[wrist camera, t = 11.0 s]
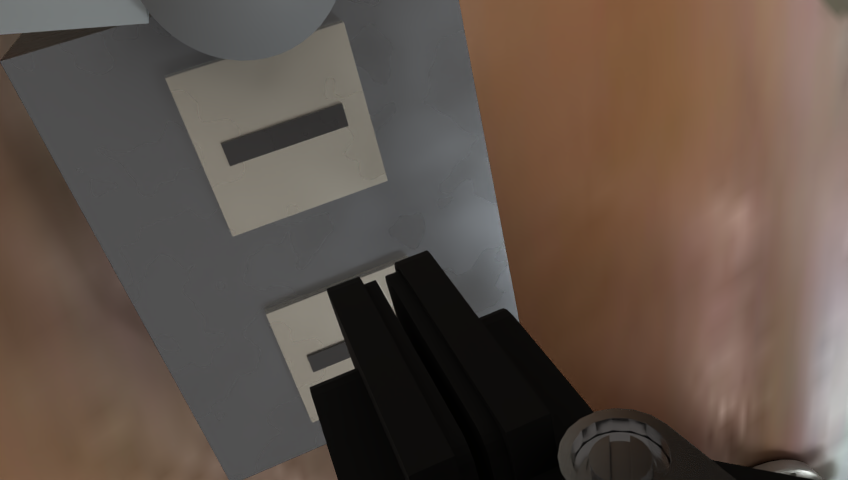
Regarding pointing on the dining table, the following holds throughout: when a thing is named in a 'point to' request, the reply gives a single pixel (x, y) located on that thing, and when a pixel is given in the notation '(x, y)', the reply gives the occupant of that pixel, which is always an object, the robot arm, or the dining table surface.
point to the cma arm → (182, 21)
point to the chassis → (270, 194)
